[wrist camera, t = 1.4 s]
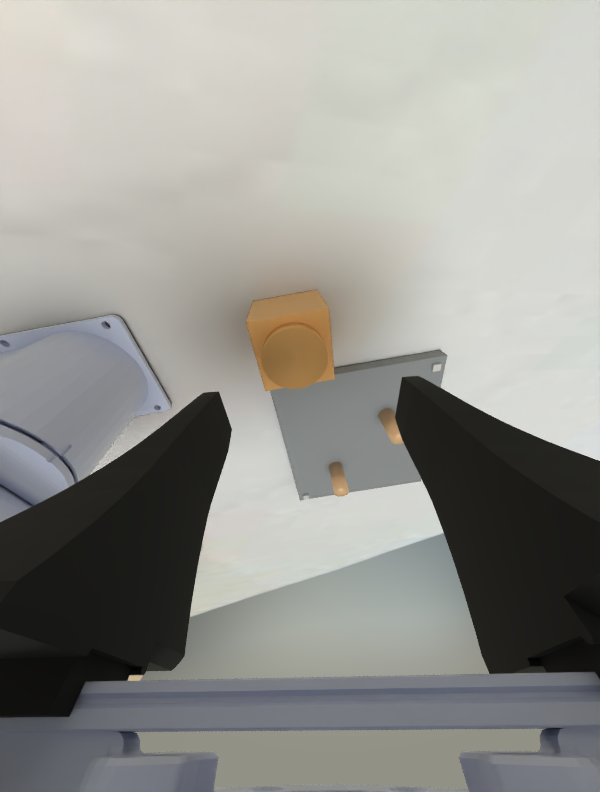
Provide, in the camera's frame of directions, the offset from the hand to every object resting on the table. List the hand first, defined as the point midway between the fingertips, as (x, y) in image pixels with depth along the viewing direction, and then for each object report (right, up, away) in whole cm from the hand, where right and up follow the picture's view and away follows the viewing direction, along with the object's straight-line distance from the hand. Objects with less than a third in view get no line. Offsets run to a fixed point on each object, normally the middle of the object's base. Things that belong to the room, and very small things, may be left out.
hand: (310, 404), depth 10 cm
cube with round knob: (-1, +5, +8) cm, 10 cm away
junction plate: (+5, -4, +15) cm, 16 cm away
